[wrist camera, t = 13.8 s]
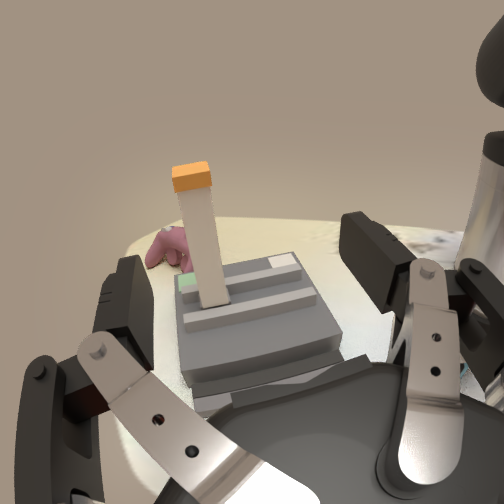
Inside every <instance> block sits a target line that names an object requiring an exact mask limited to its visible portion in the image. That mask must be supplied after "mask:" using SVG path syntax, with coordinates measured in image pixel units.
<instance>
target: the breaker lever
mask: <svg viewBox="0 0 504 504" xmlns="http://www.w3.org/2000/svg"><path fill="white" fill-rule="evenodd" d="M172 181H173V186H174V190H175V193H176V192H177V195H178V200H179V205H180V210H181V215H182V220H183V224H184V229H185V234H186V238H187V243H188V247H189V252H190V256H191V260H192V265H193V269H194V273H195V277H196V282H197V286H198V290H199V301H200V307H201V311H203V310H208V309H213V308H218V307H223V306H227V305H231V300H230V297H229V293H228V289H227V288H226V285H225V279H224V273H223V267H222V261H221V255H220V249H219V243H218V236H217V230H216V223H215V217H214V210H213V203H212V197H211V190H210V186H212V182H211V175H210V170H209V166H208V164H207V161H202V162H196V163H191V164H185V165H180V166H175V167H172Z"/></svg>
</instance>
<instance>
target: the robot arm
mask: <svg viewBox="0 0 504 504" xmlns="http://www.w3.org/2000/svg"><path fill="white" fill-rule="evenodd" d="M476 77H477V82H478V85H479V87H480V89H481V91H482V93H483V94H484V95H485V96H486V98H487V99H489V100H490V101H491V102H493V103H495V104H497V105H498V106H500V107H503V108H504V15H503V16H502V18H501V19H500V20H499V21H498V23H497V24H496V25H495V26H494V27H493V28H492V30H491V31H490V32H489V33H488V35H487V36H486V38H485V39H484V41H483V43H482V45H481V47H480V49H479V53H478V57H477V62H476ZM339 253H340V256H341V259H342V261H343V262H344V263H345V265H346V266H347V267H348V269H349V270H350V271H351V273H352V274H353V275H354V277H355V278H356V279H357V281H358V282H359V283H360V285H361V286H362V287H363V289H364V290H365V292H366V293H367V294H368V296H369V297H370V298H371V300H372V301H373V303H374V304H375V305H376V307H377V308H378V310H379V311H380V312H381V314H384V313H387V312H390V311H393V312H394V313H395V315H394V317H393V322H392V330H391V338H390V345H389V351H388V357H387V361H386V363H385V362H370V361H369V359H368V357H367V355H366V354H364V355H361V356H358V357H356V358H353V359H350V360H347V361H344V362H341V363H338V364H336V365H334V366H332V367H331V368H329V369H328V370H326V371H324V372H323V373H321V374H319V375H318V376H316V377H314V378H313V379H311V380H309V381H307V382H305V383H296V384H275V385H263V386H259V387H255V388H250V389H246V390H241V391H237V392H232V393H230V395H231V399H232V403H229V404H227V405H225V406H224V407H222V408H220V409H219V410H217V411H216V412H215V413H213V414H212V415H211V416H210V417H209V418H208V419H207V420H204V419H203V418H202V417H201V416H199V415H198V414H197V413H196V412H195V411H194V410H192V409H191V408H190V407H189V406H188V405H187V404H185V403H184V402H183V401H182V400H181V399H180V398H179V397H178V396H176V395H175V394H174V393H173V392H172V391H171V390H170V389H169V388H168V387H167V386H166V385H164V384H163V383H162V382H161V381H160V380H159V379H158V378H157V377H156V376H155V375H154V374H153V373H152V372H150V371H151V370H154V354H153V320H154V297H153V291H152V287H151V284H150V282H149V279H148V277H147V274H146V271H145V269H144V266H143V263H142V261H141V258H140V256H139V255H133V256H129V257H124V258H120V259H119V261H118V266H117V271H116V273H113V274H110V275H109V276H108V277H107V278H106V280H105V281H104V283H103V285H102V289H101V293H100V295H101V296H100V297H99V302H98V303H99V304H98V306H97V311H96V316H95V321H94V326H93V331H92V334H91V335H89V336H88V337H86V338H85V339H84V340H83V341H82V342H81V344H80V345H79V348H78V351H77V355H75V356H73V357H71V358H69V359H66V360H64V361H62V362H60V363H57V362H56V361H55V360H54V359H53V358H52V357H50V356H47V355H43V356H40V357H38V358H36V359H34V360H33V361H32V362H31V363H30V365H29V366H28V367H27V369H26V372H25V376H24V381H23V387H22V392H21V399H20V406H19V413H18V421H17V431H16V445H15V466H14V469H15V470H14V487H15V504H106V503H105V499H104V492H103V484H102V475H101V463H100V450H99V429H98V415H99V414H102V413H104V412H106V411H109V410H111V411H112V412H113V413H114V414H115V416H116V417H117V418H118V419H119V421H120V422H121V423H122V424H123V425H124V427H125V428H126V429H127V430H128V431H129V433H130V434H131V435H132V436H133V437H134V438H135V439H136V441H137V442H138V443H139V444H140V445H141V446H142V447H143V448H144V449H145V451H146V452H147V453H148V454H149V455H150V456H151V457H152V458H153V459H154V460H155V461H156V462H157V463H158V464H159V465H160V466H161V467H162V468H163V469H164V470H165V471H166V472H167V473H168V474H169V475H170V476H171V477H170V479H169V480H168V482H167V483H166V485H165V487H164V488H163V490H162V491H161V493H160V495H159V496H158V498H157V499H156V501H155V503H154V504H504V131H497V132H490V133H488V134H487V135H486V136H485V140H484V145H483V153H482V159H481V165H480V170H479V176H478V181H477V185H476V190H475V195H474V199H473V203H472V207H471V211H470V215H469V219H468V222H467V226H466V229H465V232H464V236H463V239H462V242H461V245H460V248H459V251H458V254H457V257H456V260H455V264H454V266H455V270H444V269H443V268H442V267H441V266H440V265H439V264H438V263H436V262H435V261H433V260H430V259H425V258H419V259H417V258H416V257H415V256H414V255H413V254H412V253H411V252H410V251H409V250H408V249H407V248H406V247H405V246H404V245H403V244H402V243H401V242H400V241H398V239H397V238H396V237H395V236H394V235H392V233H391V232H390V231H389V230H388V229H387V228H385V227H384V226H383V225H381V224H379V223H377V222H375V221H371V220H370V219H369V218H368V217H367V216H366V215H365V214H364V213H363V212H361V211H359V212H353V213H348V214H344V215H343V216H342V218H341V228H340V239H339ZM476 305H477V306H478V307H479V308H480V309H481V311H482V312H483V313H484V314H485V316H486V317H487V318H488V320H489V323H490V330H489V332H488V334H486V332H485V331H484V329H483V328H482V327H481V325H480V324H479V323H478V321H477V320H476V319H475V317H474V316H473V315H472V312H473V310H474V308H475V306H476ZM460 354H461V355H462V357H463V358H464V360H465V361H466V363H467V365H468V366H469V368H470V369H471V371H472V373H473V374H474V376H475V378H476V379H477V381H478V383H479V384H480V386H481V388H482V389H483V391H484V393H485V400H486V401H485V402H484V403H483V402H480V401H478V400H476V399H473V398H471V397H469V396H466V395H464V394H462V393H460ZM147 371H148V372H147Z"/></svg>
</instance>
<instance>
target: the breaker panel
mask: <svg viewBox="0 0 504 504" xmlns="http://www.w3.org/2000/svg"><path fill="white" fill-rule="evenodd" d="M222 267H223V273H224V279H225V285H226V288H227V289H228V293H229V297H230V300H231V305H227V306H223V307H218V308H213V309H208V310H203V311H201V307H200V301H199V290H198V286H197V282H196V277H195V273H194V271H193V272H188V273H182V274H177V275H174V283H175V303H176V320H177V334H178V346H179V358H180V368H181V373H182V375H183V377H184V379H185V381H186V383H187V385H188V387H189V388H191V385H194V384H200V383H206V382H211V381H216V380H221V379H226V378H231V377H236V376H240V375H245V374H249V373H254V372H258V371H262V370H266V369H270V368H274V367H278V366H282V365H286V364H290V363H293V362H297V361H301V360H304V359H308V358H311V357H314V356H318V355H321V354H324V353H328V352H331V351H334V350H337V349H339V347H340V343H341V339H342V334H343V332H342V330H341V329H340V327H339V325H338V324H337V322H336V320H335V319H334V317H333V315H332V314H331V312H330V310H329V309H328V307H327V305H326V304H325V302H324V300H323V299H322V297H321V295H320V294H319V292H318V290H317V289H316V287H315V286H314V284H313V282H312V281H311V279H310V277H309V276H308V274H307V273H306V271H305V269H304V268H303V266H302V265H301V263H300V261H299V260H298V258H297V257H296V255H295V253H294V252H288V253H283V254H279V255H274V256H269V257H264V258H259V259H254V260H248V261H243V262H238V263H233V264H228V265H223V266H222Z"/></svg>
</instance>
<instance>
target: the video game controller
mask: <svg viewBox="0 0 504 504" xmlns="http://www.w3.org/2000/svg"><path fill="white" fill-rule="evenodd" d="M182 253H183V254H185V255H184V256H183V257H182ZM165 254H167V260H168V262H169V264H171V265H176V264H180V266H181V269H182V270H183V271H184V272H183V273H188V272H193V271H194V269H193V265H192V260H191V256H190V252H189V247H188V243H187V238H186V234H185V229H184V227H174V226H169V227H166V228H162V229H161V231H160V232H158V234H157V235H156V238H155V240H154V242H153V244H152V245H151V247H150V249H149V250H148V252H147V254H146V257H145V264H146V266H147V267H148V268H152V267H154V266H155V265H157V264H158V263H159V262H160V260H161V259H162V258H163V257H164V255H165Z"/></svg>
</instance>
